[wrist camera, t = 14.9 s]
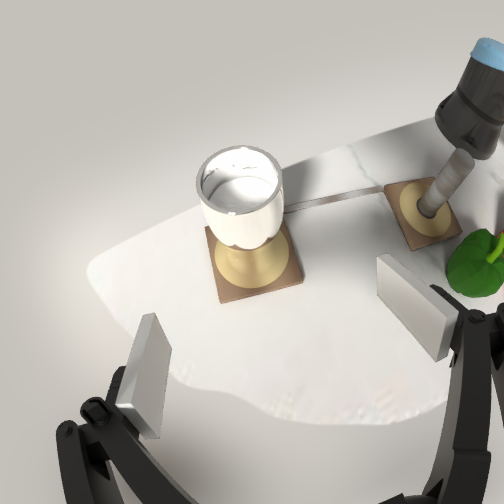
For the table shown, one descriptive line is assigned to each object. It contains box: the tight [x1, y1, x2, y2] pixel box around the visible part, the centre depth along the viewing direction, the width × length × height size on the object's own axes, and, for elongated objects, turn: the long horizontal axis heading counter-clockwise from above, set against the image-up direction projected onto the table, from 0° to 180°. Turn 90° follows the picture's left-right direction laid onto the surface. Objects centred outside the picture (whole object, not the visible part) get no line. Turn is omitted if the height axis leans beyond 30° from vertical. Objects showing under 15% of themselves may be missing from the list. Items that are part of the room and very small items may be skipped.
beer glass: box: [196, 145, 284, 276], centre depth 28 cm, size 7×7×15 cm
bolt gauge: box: [205, 148, 475, 304], centre depth 31 cm, size 36×11×13 cm, turn 103°
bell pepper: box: [447, 229, 504, 298], centre depth 28 cm, size 8×8×10 cm
